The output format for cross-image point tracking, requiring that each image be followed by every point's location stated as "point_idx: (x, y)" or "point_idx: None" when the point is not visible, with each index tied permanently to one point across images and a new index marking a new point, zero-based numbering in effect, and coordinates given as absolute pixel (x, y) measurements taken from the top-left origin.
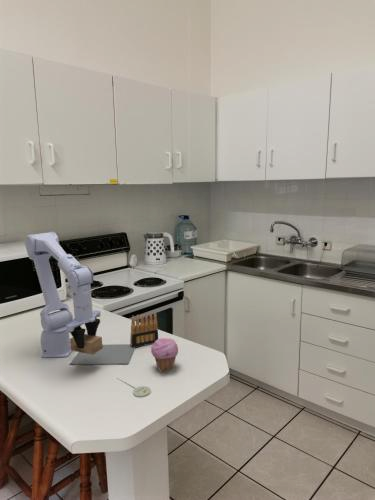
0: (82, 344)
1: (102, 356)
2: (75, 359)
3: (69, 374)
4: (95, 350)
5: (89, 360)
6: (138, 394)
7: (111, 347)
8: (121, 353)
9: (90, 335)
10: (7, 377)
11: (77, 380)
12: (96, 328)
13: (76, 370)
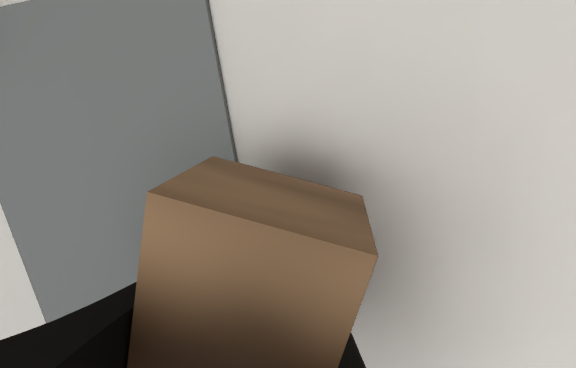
0: (363, 362)
1: (148, 189)
2: None
3: (369, 295)
4: (319, 192)
5: None
6: None
7: (29, 178)
8: (79, 77)
9: (142, 354)
10: None
11: (437, 226)
12: (10, 355)
13: None
